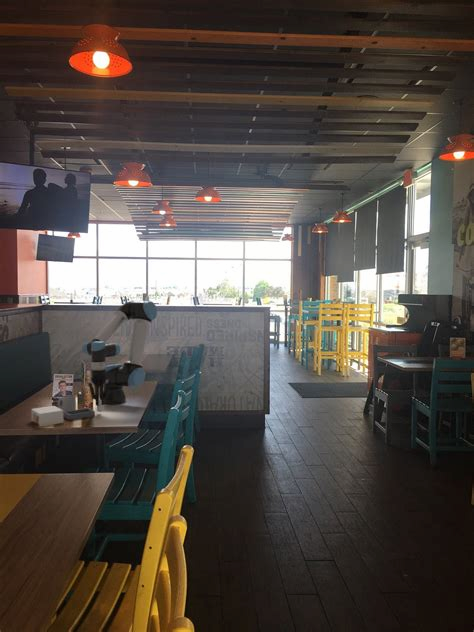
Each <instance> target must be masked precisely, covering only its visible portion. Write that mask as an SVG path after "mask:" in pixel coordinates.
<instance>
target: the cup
mask: <svg viewBox="0 0 474 632" xmlns="http://www.w3.org/2000/svg"><path fill="white" fill-rule="evenodd" d="M76 398H77V397H76V395H75V394H67V395H63V396H62V397H60V398H59V399H58V400H57V407H58V408H60V409H62V410H63V412H65V411H72V410H77V406H76V403H77V402H76Z"/></svg>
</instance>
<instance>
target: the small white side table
mask: <svg viewBox="0 0 474 632" xmlns="http://www.w3.org/2000/svg"><path fill="white" fill-rule="evenodd" d="M31 422H33V423H35V424H37V425H38V426H39V427H44V426H52V425H57V424H63V423H64V417H63V410H62V409H60V408H58V406H56V405H51V406H44V407H36V408H31Z"/></svg>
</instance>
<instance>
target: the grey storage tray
mask: <svg viewBox="0 0 474 632" xmlns="http://www.w3.org/2000/svg"><path fill="white" fill-rule="evenodd" d="M94 417H96V411H95V410H93V409H91V408H89V407H87V408H79V409H76V410H72V411H65V412H63V419H66V420H67V421H69V422H71V421H76V420H83V419H89V418H94Z"/></svg>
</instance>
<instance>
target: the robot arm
mask: <svg viewBox="0 0 474 632" xmlns="http://www.w3.org/2000/svg"><path fill="white" fill-rule="evenodd" d="M157 315H158V309H157V306H156V304H155V303H154V301H151V300H130V301H127V302H124V304H123V305H120V306H119V307H118V308H117V310H115V312H114V314H113V316H112V318H111V319H109V321H108V322H106V324H105V325H104V327H102V328H101V330H100V331H99V332H98V333H97V334H96V336H95V337H93V339H92V340H91V341H90V342H89V341H87V342H84V343H83V344H82V348H81V349H82V350H81V351H82V353H83V354H84V355H86V356H91V379H90V381H88V382H87V383H86V384H87V386H88V388H89V392H90V396H91V399H92V400H95V406H96V409H97V410H96V411H97V412H99V413H100V412H102V411H103V409H102V408H103V405H117V404H122V403H125V401H126V402H127V398H126V394H125V392H124V387H130V388H137V387H140V386H141V385H142V384H143V383H144V382H145V378H146V371H145V369H144V368H143V367H144V366H143V364H142V360H143V354H144V349H145V344H146V338H147V334H148V329H149V326H150V325H151V324H152V321H154V320H155V319H156V318H157V317H158V316H157ZM130 320H132V322H133V329H132V334H131V338H130V344H129V350H128V354H127V358H126V361H124V362H123V363H115V364H109V365H107V364H106V358H110V357H116V356H118V355H119V354H120V353H121V346H120V344H118V343H117V342H111V343H109V341H110V340H111V339H112V337H113V336H114V335H115V334H116V333H117V332H118V331H119V329H120V328H121V327H122V326H123V325H124V324H127V323H128V322H129V321H130ZM93 385H94V387H93Z"/></svg>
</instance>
